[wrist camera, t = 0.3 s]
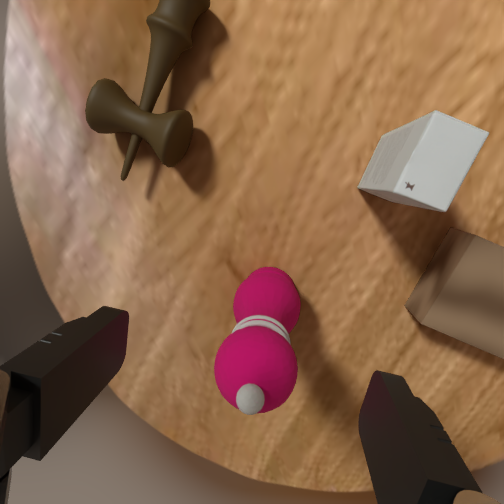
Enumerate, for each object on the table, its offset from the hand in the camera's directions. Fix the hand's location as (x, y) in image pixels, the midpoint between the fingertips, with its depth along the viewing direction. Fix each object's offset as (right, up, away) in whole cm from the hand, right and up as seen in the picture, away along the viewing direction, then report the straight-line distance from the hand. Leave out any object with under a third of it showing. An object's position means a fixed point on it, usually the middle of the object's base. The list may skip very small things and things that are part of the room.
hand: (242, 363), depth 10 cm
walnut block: (+25, 0, +25) cm, 35 cm away
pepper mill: (+2, -1, +28) cm, 28 cm away
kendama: (-9, +21, +25) cm, 34 cm away
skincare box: (+15, +13, +23) cm, 30 cm away
